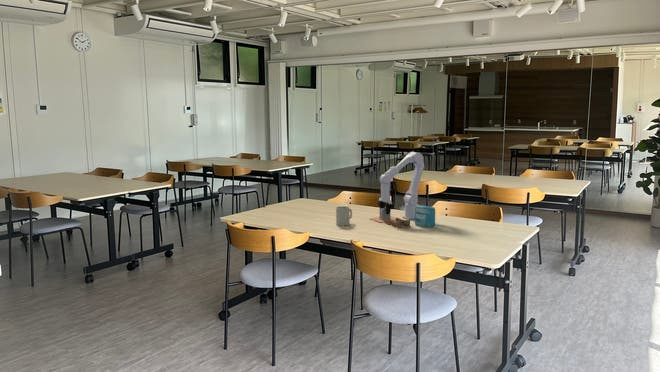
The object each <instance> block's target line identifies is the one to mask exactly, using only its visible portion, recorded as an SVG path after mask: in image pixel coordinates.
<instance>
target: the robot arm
mask: <svg viewBox="0 0 660 372" xmlns="http://www.w3.org/2000/svg"><path fill="white" fill-rule="evenodd" d="M411 163H412V164H413V165H414V167H415V168H414V171H413V174H412V179H411V181H410V184H409V188H408V190H407V191H406V193H405V195H404V196H403V202H404V216H402V218H403V217H404V219H406V218H407V219H406V220H415V207H417V206H420V205H419V204H418V201H419V200H418V199H419V198H418V196H419V194H418V189H419V186H420V183H421V178H422V177H423V172H424V169H425V162H424V156H423V154H422V153H421V152H418V151H417V152H415V151H410V152H409V153H408V154H406V155H405V157H403V159H401V161H400V162H398V164H397V165H396V166H394V165H393V166H390V167H389V169H388V170H387V171H386V172H384V174H383V173H382V174H381V175H380V176H379V182H380V197H379V198H378V201H377V204H378V206H379V209H380V208H386V214H390V215H391V210H392V208H393V206H394V203H393V201H392V200H391V199H390V198H391V197H390V193H391V192H390V189H391V188H390V187H391V186H390V183H392V179H393V178H395V177H396V176H397V175H398V174H399V173H400V171H401V169H402V168H404V167H405V166H406V165H408V164H411Z"/></svg>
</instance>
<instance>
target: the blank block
mask: <svg viewBox="0 0 660 372" xmlns="http://www.w3.org/2000/svg"><path fill="white" fill-rule="evenodd" d="M390 216H391V213H390V214H386V208H380V207H379V217H380V219H381V220H384V219H390Z"/></svg>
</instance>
